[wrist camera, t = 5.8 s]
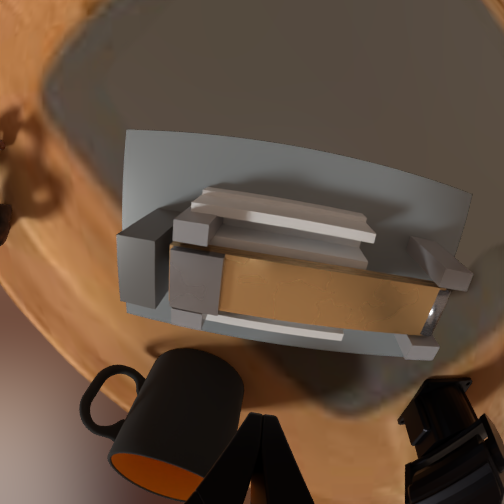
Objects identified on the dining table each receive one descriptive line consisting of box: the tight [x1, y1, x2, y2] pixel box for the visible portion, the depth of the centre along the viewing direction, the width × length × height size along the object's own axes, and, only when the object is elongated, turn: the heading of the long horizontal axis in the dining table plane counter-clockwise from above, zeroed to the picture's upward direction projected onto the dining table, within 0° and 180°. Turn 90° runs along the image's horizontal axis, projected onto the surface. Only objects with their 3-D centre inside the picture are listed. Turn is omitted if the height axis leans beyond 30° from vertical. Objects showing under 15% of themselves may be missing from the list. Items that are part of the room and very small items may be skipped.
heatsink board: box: [117, 130, 473, 360], centre depth 16 cm, size 22×13×6 cm, turn 82°
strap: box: [169, 241, 452, 336], centre depth 14 cm, size 15×3×2 cm, turn 82°
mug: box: [79, 349, 244, 502], centre depth 19 cm, size 8×12×10 cm
